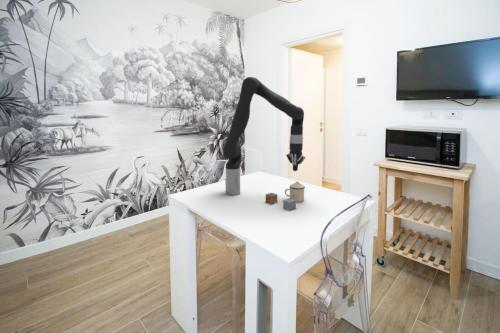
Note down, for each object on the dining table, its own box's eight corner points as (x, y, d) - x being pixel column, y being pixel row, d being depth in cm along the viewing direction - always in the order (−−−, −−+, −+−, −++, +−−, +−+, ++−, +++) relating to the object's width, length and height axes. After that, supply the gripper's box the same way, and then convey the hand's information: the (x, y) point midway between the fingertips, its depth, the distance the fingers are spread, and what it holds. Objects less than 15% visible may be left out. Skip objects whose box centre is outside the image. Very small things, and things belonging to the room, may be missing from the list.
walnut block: (265, 202, 163) (265, 194, 162) (271, 200, 166) (271, 192, 165) (271, 204, 160) (271, 196, 158) (277, 202, 163) (277, 194, 162)
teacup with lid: (302, 197, 171) (302, 179, 168) (305, 202, 162) (306, 183, 160) (283, 197, 171) (283, 179, 168) (285, 202, 162) (286, 184, 159)
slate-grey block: (283, 208, 153) (283, 200, 152) (288, 206, 156) (289, 198, 155) (289, 211, 149) (290, 202, 148) (295, 208, 153) (296, 200, 152)
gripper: (283, 141, 161) (282, 169, 165) (301, 143, 151) (300, 174, 155) (291, 140, 166) (290, 167, 170) (309, 142, 156) (308, 171, 160)
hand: (295, 170), depth 162 cm, fingers closed
